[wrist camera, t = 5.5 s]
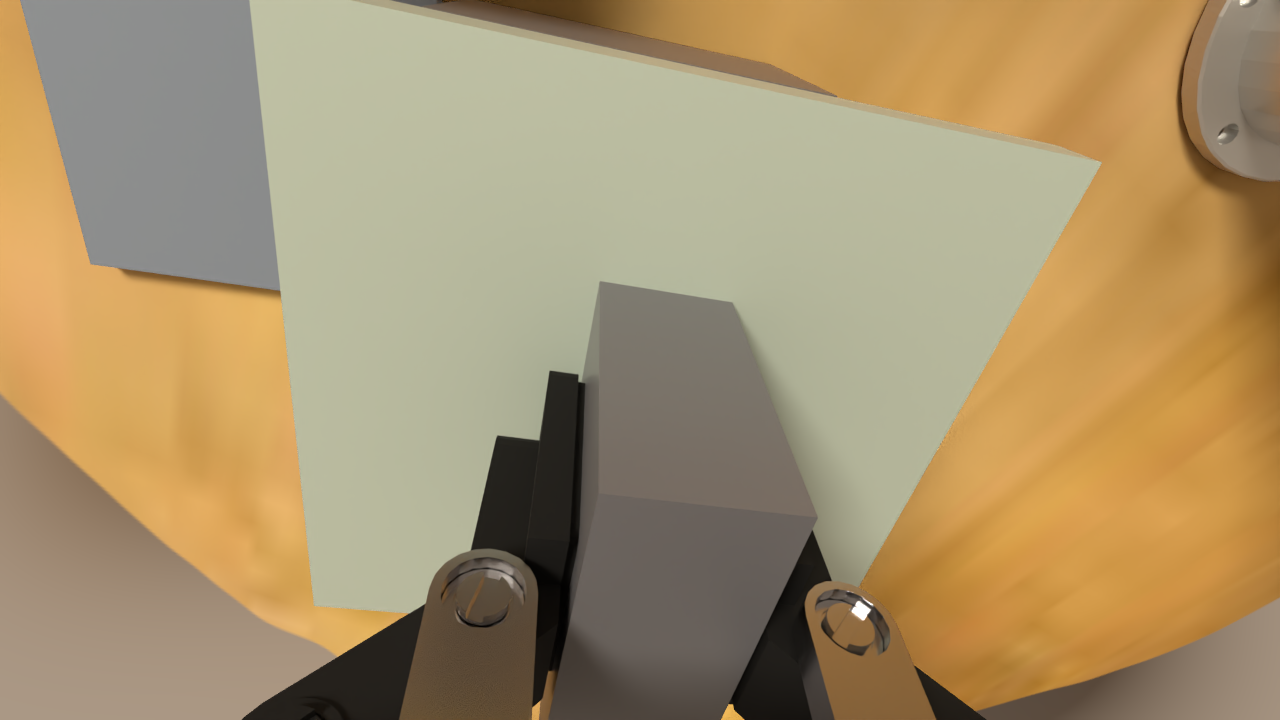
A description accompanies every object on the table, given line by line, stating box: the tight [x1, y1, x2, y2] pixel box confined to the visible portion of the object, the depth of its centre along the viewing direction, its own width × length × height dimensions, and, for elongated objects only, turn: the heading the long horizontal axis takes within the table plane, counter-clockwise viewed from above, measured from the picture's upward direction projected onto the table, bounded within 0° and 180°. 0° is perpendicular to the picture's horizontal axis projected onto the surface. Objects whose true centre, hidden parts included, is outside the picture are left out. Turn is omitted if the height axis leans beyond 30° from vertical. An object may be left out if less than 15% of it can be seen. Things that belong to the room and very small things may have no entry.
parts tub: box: [421, 0, 837, 97], centre depth 24 cm, size 12×12×8 cm
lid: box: [249, 0, 1102, 720], centre depth 11 cm, size 13×13×7 cm
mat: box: [20, 0, 442, 291], centre depth 25 cm, size 14×14×1 cm
